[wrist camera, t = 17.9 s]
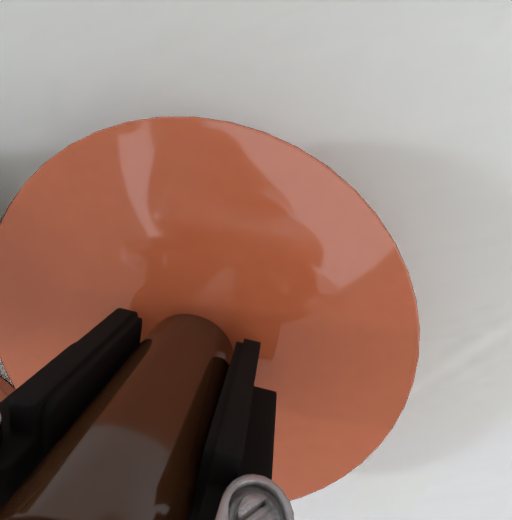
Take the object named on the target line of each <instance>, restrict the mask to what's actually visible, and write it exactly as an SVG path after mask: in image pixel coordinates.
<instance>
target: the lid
mask: <svg viewBox="0 0 512 520" xmlns="http://www.w3.org/2000/svg"><path fill="white" fill-rule="evenodd" d="M117 308H123V309H127V310H131V311H135V312H137V313H138V317H140V318H142V330H141V340H140V344H139V346H138V347H137V348H136V349H135V350H134V351H133V353H132V354H131V355H130V356H129V357H128V359H127V360H126V361H125V362H124V363H123V365H122V366H121V367H120V368H119V369H118V370H117V372H116V373H115V374H114V375H113V376H112V378H111V379H110V380H109V381H108V382H107V384H106V385H105V386H104V387H103V388H102V389H101V391H100V392H99V393H98V394H97V395H96V397H95V398H94V399H93V400H92V401H91V403H90V404H89V405H88V406H87V407H86V409H85V410H84V411H83V412H82V413H81V414H80V416H79V417H78V418H77V419H76V420H75V422H74V423H73V424H72V425H71V426H70V428H69V429H68V430H67V431H66V432H65V433H64V435H63V436H62V437H61V438H60V439H59V441H58V442H57V443H56V444H55V445H54V447H53V448H52V449H51V450H50V451H49V452H48V454H47V455H46V456H45V457H44V458H43V460H42V461H41V462H40V463H39V464H38V466H37V467H36V468H35V469H34V470H33V471H32V473H31V474H30V475H29V476H28V477H27V479H26V480H25V481H24V482H23V483H22V485H21V486H20V487H19V488H18V489H17V490H16V492H15V493H14V494H13V495H12V496H11V498H10V499H9V500H8V501H7V502H6V504H5V505H4V506H3V507H2V508H1V509H0V520H190V518H191V514H192V510H193V507H194V503H195V489H196V484H197V480H198V475H199V470H200V465H201V461H202V456H203V452H204V448H205V444H206V440H207V437H208V434H209V430H210V427H211V424H212V420H213V417H214V414H215V411H216V407H217V404H218V401H219V397H220V394H221V391H222V388H223V384H224V381H225V378H226V374H227V371H228V368H229V365H230V361H231V358H232V355H233V352H234V348H235V345H236V342H237V341H238V342H242V343H243V342H244V338H245V339H249V340H253V341H258V342H261V346H260V352H259V358H258V364H257V370H256V376H255V382H254V386H256V387H260V388H264V389H268V390H272V391H276V393H277V400H276V417H275V434H274V452H273V469H272V481H274V482H275V483H276V484H277V485H278V486H279V487H280V488H281V489H283V491H284V493H285V494H286V496H287V497H288V499H289V501H290V500H294V499H297V498H301V497H303V496H306V495H308V494H311V493H313V492H316V491H318V490H320V489H323V488H325V487H326V486H328V485H330V484H332V483H333V482H335V481H337V480H339V479H340V478H342V477H344V476H345V475H346V474H348V473H349V472H350V471H352V470H353V469H354V468H356V467H357V466H358V465H360V464H361V463H362V462H363V461H364V460H365V459H366V458H367V457H368V456H369V455H370V454H371V453H372V452H373V451H374V450H376V449H377V448H378V446H379V445H380V444H381V443H382V441H383V440H384V439H385V437H386V436H387V435H388V433H389V432H390V431H391V430H392V428H393V427H394V425H395V423H396V421H397V419H398V418H399V416H400V414H401V412H402V410H403V409H404V407H405V404H406V401H407V399H408V396H409V393H410V391H411V388H412V385H413V382H414V377H415V372H416V367H417V362H418V357H419V333H420V327H419V319H418V311H417V302H416V298H415V294H414V290H413V287H412V283H411V280H410V276H409V273H408V270H407V268H406V266H405V263H404V261H403V259H402V257H401V255H400V252H399V250H398V248H397V246H396V244H395V242H394V240H393V239H392V237H391V236H390V234H389V232H388V231H387V229H386V228H385V226H384V225H383V223H382V222H381V220H380V219H379V217H378V216H377V214H376V213H375V212H374V211H373V210H372V209H371V207H370V206H369V205H368V204H367V203H366V202H365V201H364V199H363V198H362V197H361V196H360V195H359V194H358V193H357V191H356V190H355V189H354V188H353V187H351V186H350V185H349V184H348V183H347V182H346V181H344V180H343V179H342V178H341V177H340V176H339V175H337V174H336V173H335V172H334V171H333V170H331V169H330V168H329V167H328V166H326V165H325V164H323V163H322V162H320V161H319V160H317V159H315V158H314V157H312V156H311V155H309V154H308V153H306V152H305V151H303V150H301V149H300V148H298V147H296V146H294V145H292V144H290V143H288V142H285V141H283V140H281V139H279V138H277V137H274V136H272V135H270V134H268V133H266V132H263V131H259V130H256V129H253V128H249V127H246V126H242V125H239V124H236V123H232V122H228V121H221V120H214V119H207V118H200V117H155V118H149V119H142V120H136V121H129V122H125V123H122V124H119V125H115V126H112V127H109V128H106V129H103V130H100V131H97V132H94V133H93V134H91V135H89V136H87V137H85V138H83V139H81V140H79V141H77V142H75V143H73V144H71V145H69V146H67V147H66V148H65V149H63V150H62V151H60V152H59V153H58V154H56V155H55V156H54V157H52V158H51V159H49V160H48V161H47V162H45V163H44V164H43V165H42V166H41V167H40V168H39V169H38V170H37V171H36V172H35V173H34V174H33V175H32V176H31V177H30V178H29V179H28V180H27V181H26V182H25V184H24V185H23V187H22V188H21V189H20V191H19V192H18V194H17V195H16V197H15V198H14V199H13V201H12V202H11V204H10V205H9V207H8V209H7V211H6V213H5V215H4V217H3V220H2V222H1V224H0V358H1V360H2V363H3V365H4V367H5V370H6V372H7V374H8V376H9V378H10V380H11V381H12V383H13V385H14V387H15V389H17V388H18V387H20V386H21V385H22V384H23V383H24V382H26V381H27V380H28V379H29V378H31V377H32V376H33V375H34V374H36V373H37V372H38V371H39V370H40V369H42V368H43V367H44V366H45V365H47V364H48V363H49V362H50V361H51V360H53V359H54V358H55V357H56V356H58V355H59V354H60V353H61V352H62V351H64V350H65V349H66V348H67V347H69V346H70V345H71V344H73V343H75V342H77V341H78V340H80V339H81V338H82V337H83V336H84V335H86V334H87V333H88V332H89V331H91V330H92V329H93V328H94V327H95V326H97V325H98V324H99V323H100V322H101V321H103V320H104V319H105V318H106V317H107V316H109V315H110V314H111V313H112V312H114V311H115V310H116V309H117Z"/></svg>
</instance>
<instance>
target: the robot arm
mask: <svg viewBox="0 0 512 520" xmlns="http://www.w3.org/2000/svg"><path fill="white" fill-rule="evenodd" d="M141 330H142V318H140V317H138V313H137V312H135V311H131V310H127V309H123V308H117V309H116V310H115V311H114V312H112V313H111V314H110V315H109V316H107V317H106V318H105V319H104V320H103V321H101V322H100V323H99V324H98V325H97V326H95V327H94V328H93V329H92V330H91V331H89V332H88V333H87V334H86V335H84V336H83V337H82V338H81V339H80V340H78V341H77V342H75V343H73V344H71V345H70V346H69V347H67V348H66V349H65V350H64V351H62V352H61V353H60V354H59V355H58V356H56V357H55V358H54V359H53V360H51V361H50V362H49V363H48V364H47V365H45V366H44V367H43V368H42V369H40V370H39V371H38V372H37V373H36V374H34V375H33V376H32V377H31V378H29V379H28V380H27V381H26V382H24V383H23V384H22V385H21V386H20V387H18V388H17V389H16V390H15V391H13V392H12V393H11V394H10V395H9V396H7V397H6V398H5V399H4V400H2V401H1V402H0V509H1V508H2V507H3V506H4V505H5V504H6V502H7V501H8V500H9V499H10V498H11V496H12V495H13V494H14V493H15V492H16V490H17V489H18V488H19V487H20V486H21V485H22V483H23V482H24V481H25V480H26V479H27V477H28V476H29V475H30V474H31V473H32V471H33V470H34V469H35V468H36V467H37V466H38V464H39V463H40V462H41V461H42V460H43V458H44V457H45V456H46V455H47V454H48V452H49V451H50V450H51V449H52V448H53V447H54V445H55V444H56V443H57V442H58V441H59V439H60V438H61V437H62V436H63V435H64V433H65V432H66V431H67V430H68V429H69V428H70V426H71V425H72V424H73V423H74V422H75V420H76V419H77V418H78V417H79V416H80V414H81V413H82V412H83V411H84V410H85V409H86V407H87V406H88V405H89V404H90V403H91V401H92V400H93V399H94V398H95V397H96V395H97V394H98V393H99V392H100V391H101V389H102V388H103V387H104V386H105V385H106V384H107V382H108V381H109V380H110V379H111V378H112V376H113V375H114V374H115V373H116V372H117V370H118V369H119V368H120V367H121V366H122V365H123V363H124V362H125V361H126V360H127V359H128V357H129V356H130V355H131V354H132V353H133V351H134V350H135V349H136V348H137V347H138V346H139V344H140V340H141ZM260 346H261V342H258V341H253V340H249V339H245V338H244V342H243V343H242V342H238V341H237V342H236V345H235V348H234V352H233V355H232V358H231V361H230V365H229V368H228V371H227V374H226V378H225V381H224V384H223V388H222V391H221V394H220V397H219V401H218V404H217V407H216V411H215V414H214V417H213V420H212V424H211V427H210V430H209V434H208V437H207V440H206V444H205V448H204V452H203V456H202V461H201V465H200V470H199V475H198V480H197V484H196V489H195V503H194V507H193V510H192V514H191V518H190V520H294V514H293V510H292V507H291V504H290V501H289V499H288V497H287V496H286V494H285V493H284V491H283V489H281V488H280V487H279V486H278V485H277V484H276V483H275V482H274V481H272V469H273V452H274V434H275V417H276V400H277V393H276V391H272V390H268V389H264V388H260V387H256V386H254V382H255V376H256V370H257V364H258V358H259V352H260Z"/></svg>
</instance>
